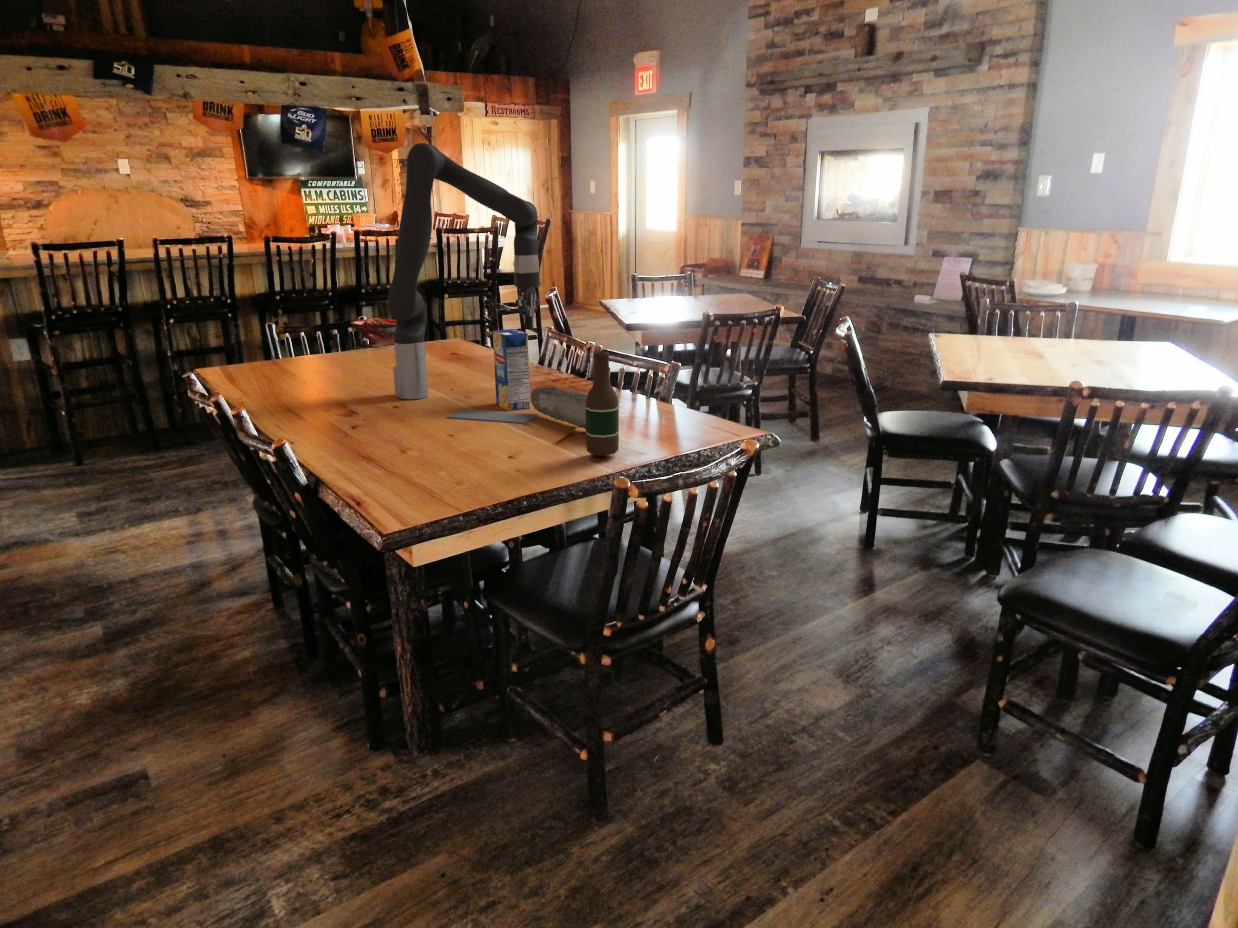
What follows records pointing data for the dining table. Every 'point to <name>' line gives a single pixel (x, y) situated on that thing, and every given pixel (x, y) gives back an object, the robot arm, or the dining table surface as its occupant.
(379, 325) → the stew
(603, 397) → the beer bottle
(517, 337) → the beverage box
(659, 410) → the dining table surface
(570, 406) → the elongated rock
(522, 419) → the mat
